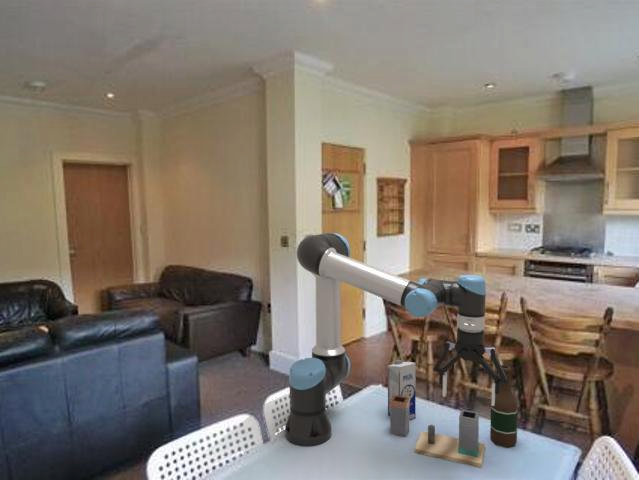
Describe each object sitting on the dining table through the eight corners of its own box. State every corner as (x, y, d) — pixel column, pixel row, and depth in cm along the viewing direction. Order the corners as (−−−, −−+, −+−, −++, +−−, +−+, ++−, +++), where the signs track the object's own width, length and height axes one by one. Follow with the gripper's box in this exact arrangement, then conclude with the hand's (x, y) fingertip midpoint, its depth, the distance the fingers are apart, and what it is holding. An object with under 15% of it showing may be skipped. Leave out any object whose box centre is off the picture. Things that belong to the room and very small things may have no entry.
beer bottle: (520, 449, 131) (521, 372, 129) (492, 447, 132) (493, 370, 130) (513, 436, 138) (515, 362, 136) (488, 433, 140) (489, 361, 138)
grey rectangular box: (458, 453, 127) (458, 417, 126) (460, 443, 132) (460, 409, 131) (477, 457, 125) (478, 420, 124) (479, 447, 130) (479, 412, 129)
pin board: (414, 452, 130) (414, 432, 130) (422, 434, 140) (422, 416, 140) (481, 467, 122) (482, 446, 122) (484, 447, 132) (485, 428, 132)
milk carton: (400, 423, 147) (399, 366, 146) (387, 415, 153) (387, 360, 152) (415, 418, 151) (416, 362, 149) (403, 410, 157) (403, 356, 155)
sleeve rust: (389, 433, 141) (389, 401, 140) (394, 426, 146) (393, 394, 145) (406, 437, 139) (406, 404, 138) (410, 429, 143) (410, 397, 143)
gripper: (424, 326, 127) (422, 396, 129) (517, 338, 117) (514, 413, 119) (429, 320, 134) (427, 386, 136) (518, 330, 124) (515, 402, 126)
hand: (468, 399), depth 128 cm, fingers open, 13 cm apart
